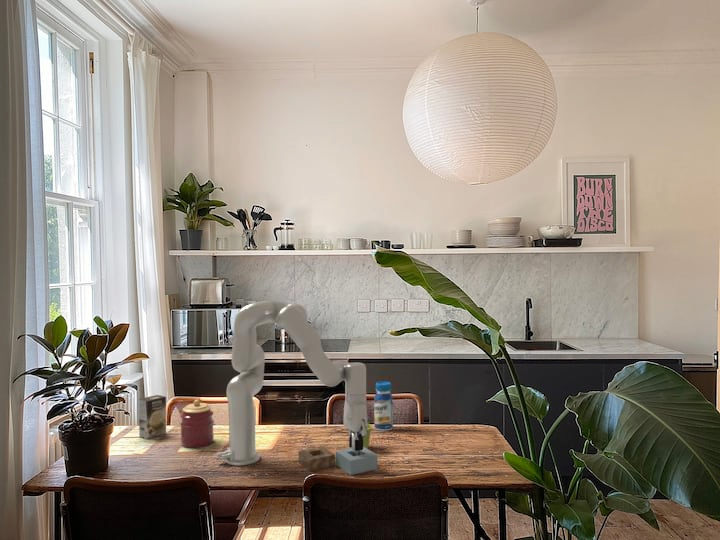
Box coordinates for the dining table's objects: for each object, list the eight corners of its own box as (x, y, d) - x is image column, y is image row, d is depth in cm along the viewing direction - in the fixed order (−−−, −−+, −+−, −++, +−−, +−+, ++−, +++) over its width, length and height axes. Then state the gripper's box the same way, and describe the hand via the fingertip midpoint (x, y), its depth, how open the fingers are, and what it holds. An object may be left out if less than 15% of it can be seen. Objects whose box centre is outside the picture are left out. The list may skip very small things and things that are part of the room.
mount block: (310, 471, 191) (309, 459, 191) (298, 462, 200) (298, 451, 200) (335, 465, 196) (335, 454, 196) (323, 456, 205) (322, 446, 205)
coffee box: (147, 439, 226) (147, 401, 226) (138, 436, 230) (138, 398, 230) (166, 433, 234) (166, 396, 234) (158, 430, 238) (157, 394, 237)
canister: (188, 450, 213) (188, 406, 212) (175, 442, 222) (174, 399, 222) (219, 443, 221) (218, 400, 221) (205, 435, 231) (204, 394, 230)
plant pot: (360, 442, 221) (360, 421, 220) (377, 447, 214) (377, 426, 214) (343, 448, 214) (343, 426, 214) (360, 454, 207) (360, 431, 207)
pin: (354, 464, 192) (354, 431, 192) (350, 461, 195) (350, 428, 195) (362, 463, 194) (362, 429, 194) (358, 460, 197) (357, 427, 197)
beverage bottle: (397, 427, 239) (396, 382, 238) (385, 432, 232) (384, 386, 232) (382, 424, 244) (382, 380, 244) (370, 428, 238) (369, 383, 238)
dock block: (350, 475, 187) (350, 460, 187) (335, 464, 197) (335, 451, 197) (377, 468, 193) (377, 454, 193) (362, 459, 202) (361, 445, 202)
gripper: (335, 394, 199) (336, 443, 200) (358, 404, 185) (358, 457, 186) (353, 391, 203) (354, 440, 204) (376, 401, 189) (377, 453, 189)
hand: (356, 448), depth 195 cm, fingers closed on pin, 3 cm apart
